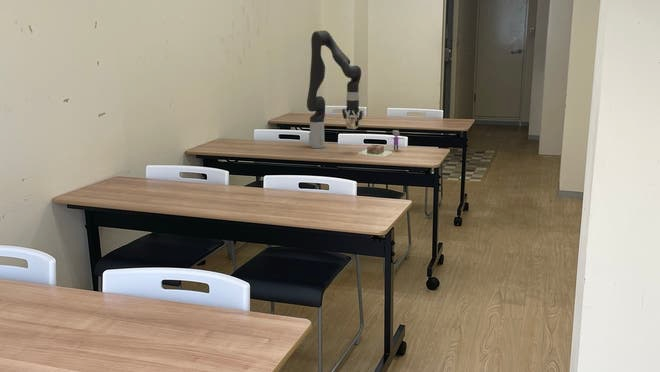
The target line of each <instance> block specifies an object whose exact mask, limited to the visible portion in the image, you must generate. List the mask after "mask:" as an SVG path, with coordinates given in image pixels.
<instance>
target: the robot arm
mask: <svg viewBox="0 0 660 372" xmlns="http://www.w3.org/2000/svg"><path fill="white" fill-rule="evenodd" d="M310 41H311V42H310V43H311V44H310V45H311V60H310V72H309V86H308V94H307V100H306V107H307V110H308V111H309V112H314V114H313V115H311V116H310V117H309V132H308V145H309V148H312V149H323V148H325V116H326V101H325V98H324V97H323V96H321V95H320V96H319V95H318V96H317V94H318V92H319V88H320V87H321V85H322V83H323V82H324V80H325V74H326V65H325V63H324V60H323V58H322V47H323V46H325V47H327V49H329V50H330V52H331V56H332V58H333V60H334V62H335V63H336V64H337V65H338V66H339V67H340V69H341V70H342V72H343V74H344V76H345V77H346V78H348V79H350V81H348V82H347V84H346V108H342V109H341V111H342V116H343V119H344V120H346V121H345V123H346V125H347V119H348V118H350V117H351V116H352V117H354V118H355V120H356V121H355V127H358V128H359V125H360V123H359V121H361V120H362V119H363V115H364V110H361V109H360V108H359V107H360V95H359V94H360V93H359V87H360V86H359V85H360V81H361V77H362V69H361V67H360V66H358V65H351V60H350V59H349V57H348V56H347V55H346V54H345V53H344V52H343V51H342V50H341V48H340V47H339V46H338V44H337V43H336V41H335V40H334V38H333V36H332V35H331V34H330V32H329V31H327V30H317V31H314V32H313V33H312V35H311V39H310Z"/></svg>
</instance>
